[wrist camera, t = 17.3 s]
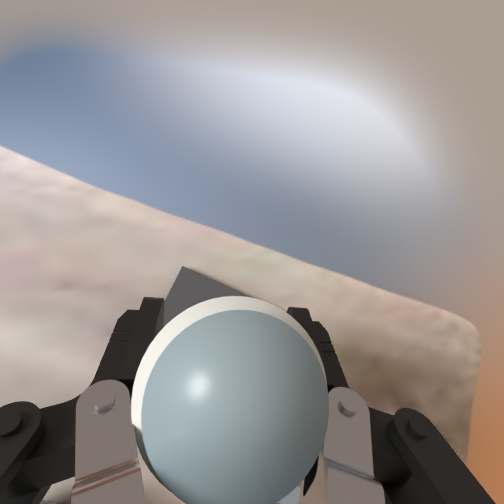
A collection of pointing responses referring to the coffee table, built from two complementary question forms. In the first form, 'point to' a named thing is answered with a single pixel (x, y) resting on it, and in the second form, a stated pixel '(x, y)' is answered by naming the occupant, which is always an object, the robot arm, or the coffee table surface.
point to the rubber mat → (193, 292)
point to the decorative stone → (47, 502)
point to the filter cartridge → (230, 403)
